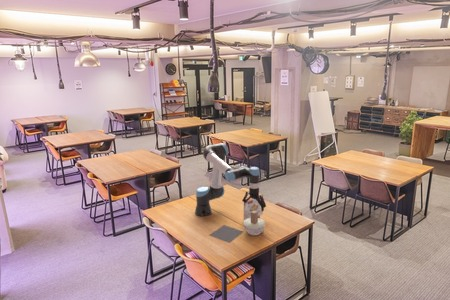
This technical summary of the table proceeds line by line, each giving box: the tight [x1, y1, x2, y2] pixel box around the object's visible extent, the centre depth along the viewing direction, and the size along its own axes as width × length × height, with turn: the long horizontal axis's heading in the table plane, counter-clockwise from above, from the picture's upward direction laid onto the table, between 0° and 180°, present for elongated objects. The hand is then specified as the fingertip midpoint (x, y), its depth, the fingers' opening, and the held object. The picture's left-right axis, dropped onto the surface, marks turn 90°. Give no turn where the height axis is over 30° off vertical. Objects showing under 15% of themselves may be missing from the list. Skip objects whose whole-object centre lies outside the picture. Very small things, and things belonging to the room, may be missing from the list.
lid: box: [242, 210, 266, 229], centre depth 244 cm, size 17×17×10 cm
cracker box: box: [243, 196, 261, 221], centre depth 266 cm, size 14×6×21 cm, turn 122°
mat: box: [209, 224, 245, 243], centre depth 246 cm, size 20×20×1 cm
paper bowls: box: [244, 226, 265, 236], centre depth 246 cm, size 15×15×8 cm
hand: (253, 212), depth 243 cm, fingers open, 13 cm apart
